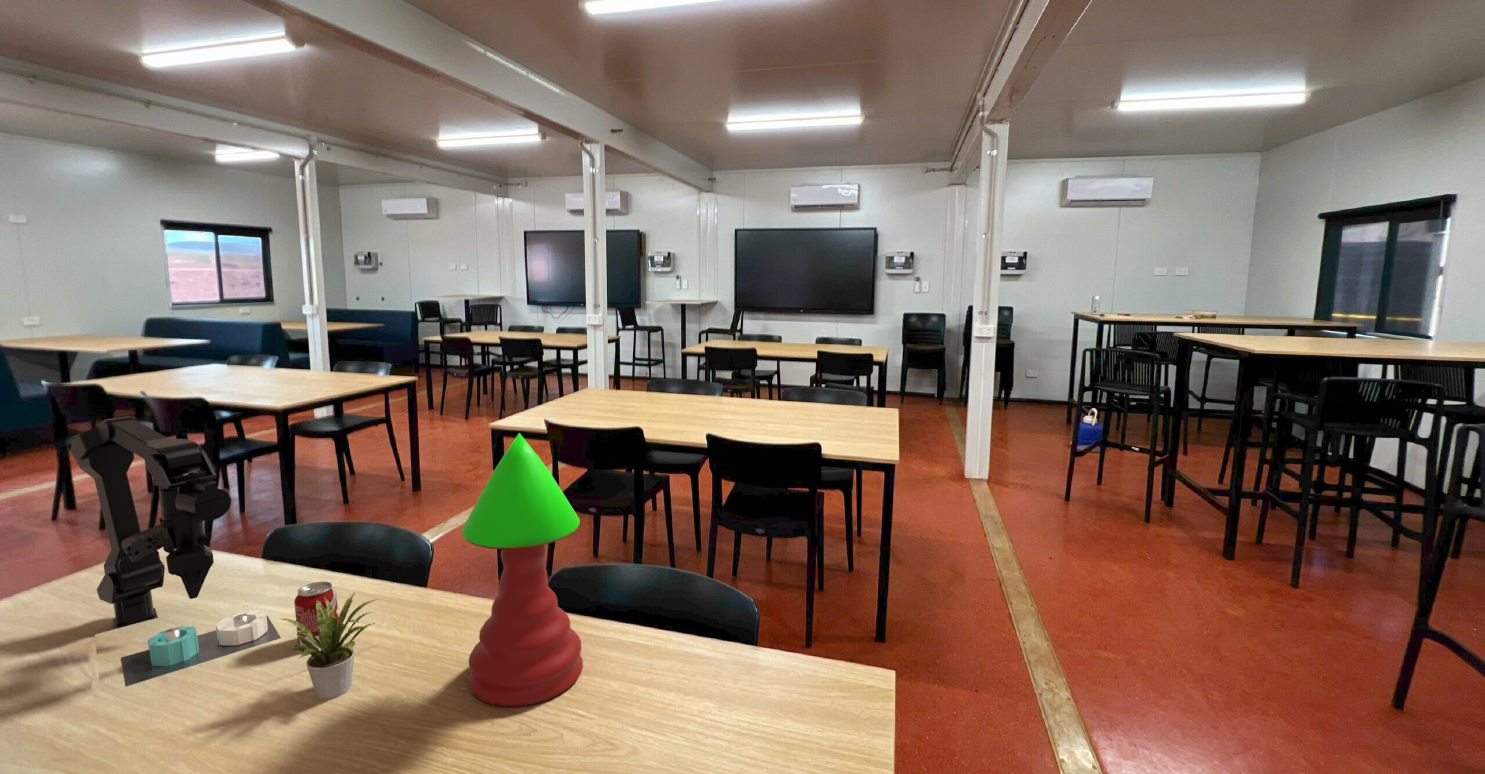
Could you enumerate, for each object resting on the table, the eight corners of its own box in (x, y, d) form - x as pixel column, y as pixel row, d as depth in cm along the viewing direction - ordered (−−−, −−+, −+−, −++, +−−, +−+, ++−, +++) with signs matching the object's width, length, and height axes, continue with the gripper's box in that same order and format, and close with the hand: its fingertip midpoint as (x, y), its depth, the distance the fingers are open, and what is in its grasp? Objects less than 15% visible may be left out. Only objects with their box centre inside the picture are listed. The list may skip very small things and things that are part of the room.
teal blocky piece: (149, 655, 120) (146, 635, 119) (195, 641, 124) (193, 622, 124) (153, 670, 115) (150, 649, 114) (200, 655, 120) (198, 635, 119)
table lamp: (537, 633, 132) (531, 416, 125) (605, 667, 121) (602, 431, 114) (445, 679, 116) (432, 434, 109) (513, 724, 105) (503, 454, 98)
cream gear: (215, 634, 127) (213, 620, 126) (262, 620, 132) (260, 606, 132) (221, 650, 122) (220, 635, 121) (270, 634, 127) (269, 620, 126)
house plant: (406, 675, 117) (400, 590, 115) (336, 723, 104) (328, 629, 102) (346, 659, 122) (340, 577, 119) (272, 703, 109) (263, 612, 106)
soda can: (320, 657, 122) (315, 598, 120) (289, 653, 123) (284, 593, 121) (348, 639, 129) (344, 581, 127) (319, 634, 130) (314, 578, 128)
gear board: (121, 663, 119) (117, 631, 118) (267, 620, 135) (265, 592, 134) (126, 692, 111) (122, 659, 110) (281, 643, 126) (278, 613, 126)
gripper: (120, 506, 121) (130, 584, 124) (123, 536, 108) (134, 623, 111) (198, 494, 129) (205, 568, 132) (209, 520, 116) (218, 602, 119)
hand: (190, 589), depth 123 cm, fingers open, 9 cm apart
